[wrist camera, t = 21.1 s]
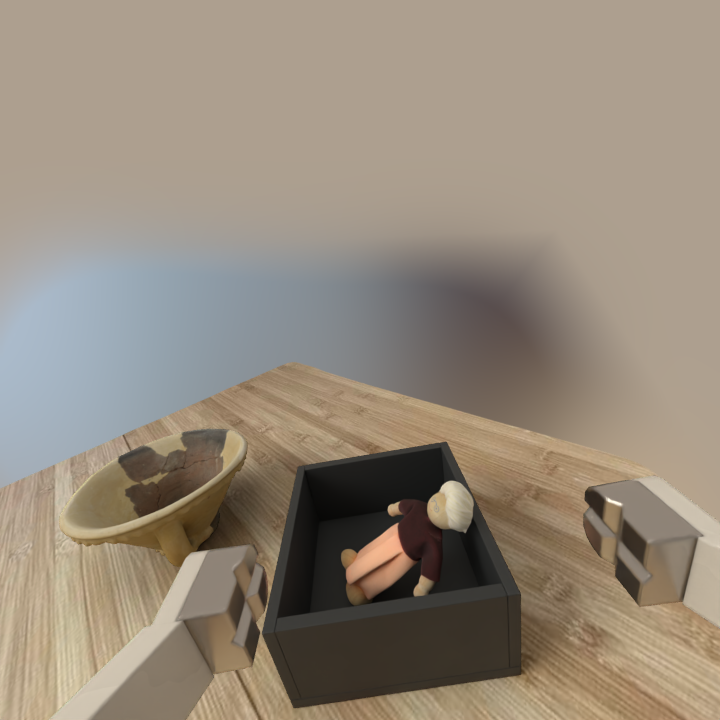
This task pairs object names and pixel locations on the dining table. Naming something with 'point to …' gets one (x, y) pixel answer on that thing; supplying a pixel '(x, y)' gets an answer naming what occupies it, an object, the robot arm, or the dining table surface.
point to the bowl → (158, 494)
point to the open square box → (395, 604)
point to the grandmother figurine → (408, 544)
